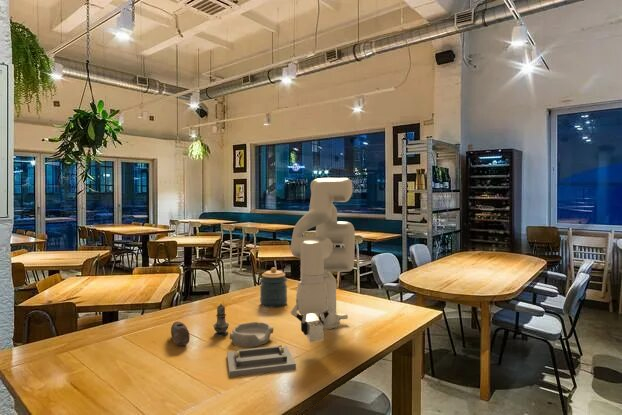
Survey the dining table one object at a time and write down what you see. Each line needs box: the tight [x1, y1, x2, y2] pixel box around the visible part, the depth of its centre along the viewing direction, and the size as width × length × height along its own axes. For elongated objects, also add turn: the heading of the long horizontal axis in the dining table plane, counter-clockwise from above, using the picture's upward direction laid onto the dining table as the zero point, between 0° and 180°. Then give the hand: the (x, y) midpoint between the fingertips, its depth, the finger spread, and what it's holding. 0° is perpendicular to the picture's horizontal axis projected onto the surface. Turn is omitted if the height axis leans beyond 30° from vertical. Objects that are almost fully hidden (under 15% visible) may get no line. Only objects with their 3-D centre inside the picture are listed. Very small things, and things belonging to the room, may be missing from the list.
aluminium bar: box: [305, 313, 324, 343], centre depth 129 cm, size 4×11×5 cm, turn 14°
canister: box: [259, 267, 288, 308], centre depth 188 cm, size 13×13×18 cm
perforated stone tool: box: [170, 321, 190, 347], centre depth 142 cm, size 15×5×7 cm, turn 28°
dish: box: [229, 321, 274, 348], centre depth 142 cm, size 14×14×5 cm
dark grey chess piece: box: [212, 303, 230, 338], centre depth 148 cm, size 6×6×12 cm
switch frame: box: [226, 345, 297, 377], centre depth 124 cm, size 20×14×4 cm
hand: (312, 331), depth 129 cm, fingers closed on aluminium bar, 4 cm apart
